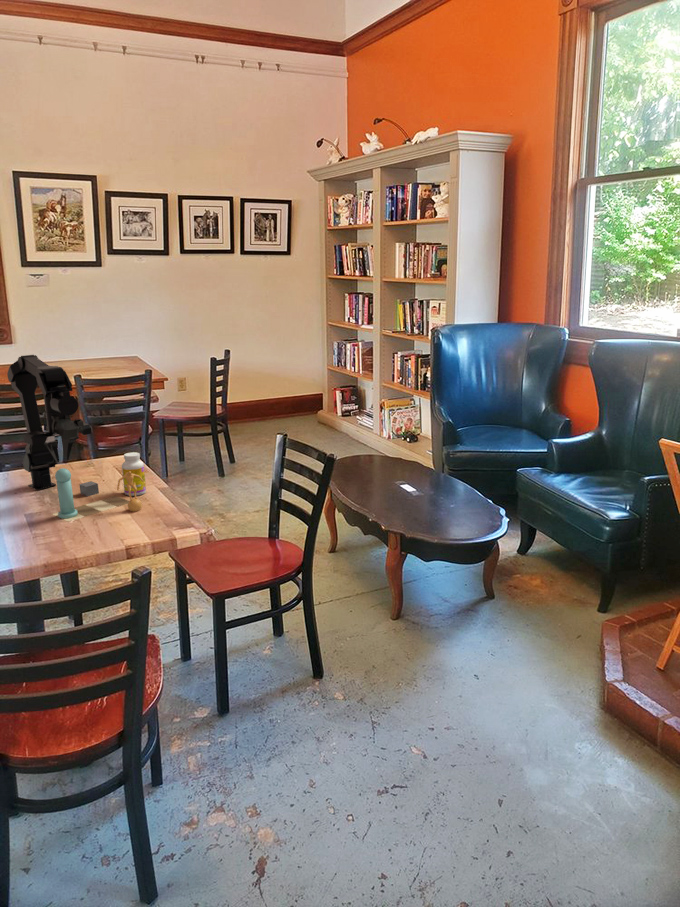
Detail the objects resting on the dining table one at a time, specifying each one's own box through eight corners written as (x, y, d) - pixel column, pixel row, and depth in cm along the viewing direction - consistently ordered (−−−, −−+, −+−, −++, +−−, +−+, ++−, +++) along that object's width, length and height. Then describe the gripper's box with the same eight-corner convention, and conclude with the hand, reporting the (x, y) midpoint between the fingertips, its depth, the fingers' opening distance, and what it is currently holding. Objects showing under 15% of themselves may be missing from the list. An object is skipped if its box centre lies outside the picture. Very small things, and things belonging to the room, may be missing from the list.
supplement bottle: (147, 495, 214) (143, 455, 211) (125, 497, 212) (120, 458, 209) (145, 488, 220) (142, 450, 217) (124, 491, 218) (120, 452, 215)
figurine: (123, 516, 196) (119, 477, 193) (117, 511, 201) (112, 472, 198) (151, 510, 201) (148, 471, 197) (144, 505, 205) (141, 467, 202)
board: (50, 516, 197) (50, 514, 197) (115, 497, 212) (115, 495, 212) (68, 524, 191) (67, 522, 191) (134, 504, 206) (133, 502, 206)
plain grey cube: (80, 496, 214) (79, 484, 213) (92, 493, 217) (91, 481, 216) (87, 499, 212) (86, 486, 211) (99, 495, 215) (97, 483, 214)
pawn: (54, 515, 195) (48, 469, 192) (72, 510, 199) (66, 464, 195) (64, 520, 192) (58, 472, 188) (81, 514, 196) (75, 468, 192)
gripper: (38, 419, 189) (45, 473, 194) (99, 408, 203) (104, 459, 207) (19, 414, 196) (27, 466, 201) (80, 404, 210) (85, 452, 214)
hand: (62, 461), depth 205 cm, fingers open, 3 cm apart
